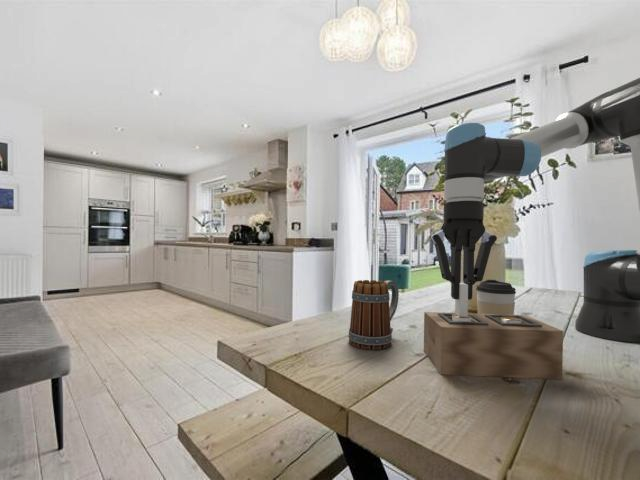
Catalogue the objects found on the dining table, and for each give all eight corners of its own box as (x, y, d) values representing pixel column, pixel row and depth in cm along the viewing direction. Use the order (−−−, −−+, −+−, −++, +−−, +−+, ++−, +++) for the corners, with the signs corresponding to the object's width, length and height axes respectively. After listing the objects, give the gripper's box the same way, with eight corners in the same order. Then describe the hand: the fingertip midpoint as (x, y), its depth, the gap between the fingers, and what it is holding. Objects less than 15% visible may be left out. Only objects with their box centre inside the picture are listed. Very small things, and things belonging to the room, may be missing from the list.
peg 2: (514, 356, 65) (515, 316, 65) (525, 363, 61) (525, 321, 61) (497, 356, 65) (497, 316, 65) (506, 363, 62) (507, 320, 62)
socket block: (523, 355, 69) (524, 313, 69) (562, 379, 57) (563, 328, 57) (423, 351, 70) (424, 310, 70) (440, 374, 58) (441, 325, 58)
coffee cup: (521, 346, 75) (522, 284, 75) (481, 343, 76) (482, 283, 76) (506, 334, 84) (507, 279, 83) (471, 332, 85) (471, 278, 85)
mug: (372, 354, 68) (373, 287, 68) (339, 341, 76) (340, 281, 76) (412, 340, 78) (413, 281, 78) (380, 330, 86) (380, 277, 86)
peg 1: (466, 353, 66) (466, 314, 66) (473, 360, 62) (474, 318, 62) (449, 353, 66) (449, 313, 66) (455, 359, 62) (455, 318, 62)
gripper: (487, 203, 67) (485, 311, 67) (426, 203, 68) (424, 309, 68) (505, 199, 60) (503, 320, 60) (436, 198, 61) (434, 318, 61)
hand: (461, 314), depth 64 cm, fingers closed
